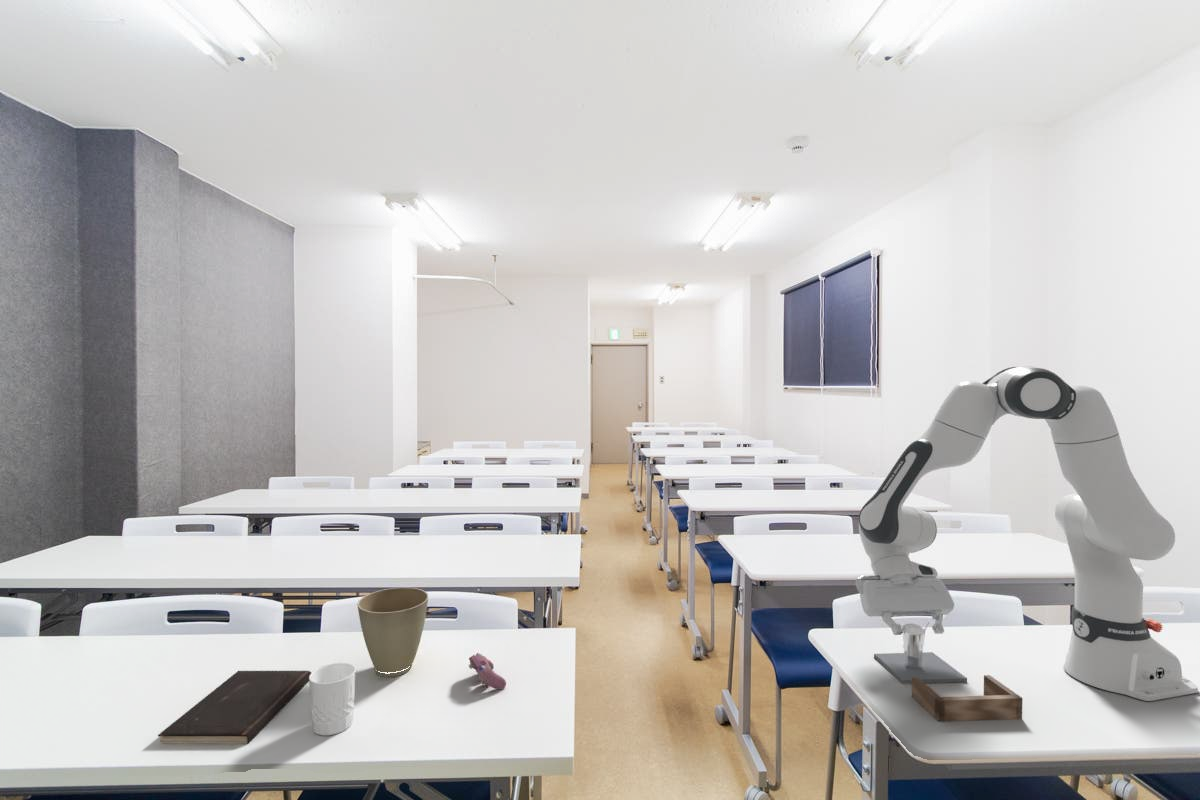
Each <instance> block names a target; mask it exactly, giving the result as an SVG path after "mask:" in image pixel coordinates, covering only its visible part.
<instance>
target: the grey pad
mask: <svg viewBox="0 0 1200 800" xmlns="http://www.w3.org/2000/svg"><path fill="white" fill-rule="evenodd" d="M873 658H874V659H875V660H877V662H879V664H881V665H882V666H883V667H884V668H885V669H887V670H888V671H889V673H891V674H892V675H893V676H894V677H895V678H897V679H898V680H899V681H900V682H901V683H902V684H903V685H905V684H909V685H910V684H911V685H912V677H918V678H919V679H920V680H922V681H923V682H924V683H925V684H940V683H941V684H944V683H967V682H968V678H967V676H965V675H963V674H962V673H961V672H960V671H958V670H956V669H955V668H954V667H952V665H950V664H949V663H947V661H945V660H944V659H942V658H941V657H939V655H937V654H935V653H934V652H928V651H927V652H925V651H923V653H922V663H921V668H919V669H913V668H910V667H908V666H906V665H905V656H904V652H895V653H894V652H892V653H886V652H885V653H873Z"/></svg>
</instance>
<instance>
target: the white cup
mask: <svg viewBox="0 0 1200 800" xmlns="http://www.w3.org/2000/svg"><path fill="white" fill-rule="evenodd" d="M356 671H357V669H356V666H355V665H353V664H351V663H348V662H336V663H331V664H326V665H324V666H321V667H319V668H317V669H315V670H314V671H312V672H311V674H310V676H309V682H308V683H309V696H310V697H309V698H310V708H311V709H310V710H311V717H312V718H311V719H312V729H313V732H314V734H316V735H319V736H333V735H337V734H340V733H342V732H344V731H346V730H347V729H349V727H350V726H351V725H352V723H353V721H354V709H355V707H354V706H355V695H356V692H355V691H356Z"/></svg>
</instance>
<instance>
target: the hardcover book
mask: <svg viewBox="0 0 1200 800" xmlns="http://www.w3.org/2000/svg"><path fill="white" fill-rule="evenodd" d="M311 673H312V672H311V671H310V670H238V671H236V672H235V673H234V674H232V675H231V676H230V677H229V678H228V679H226V680H225V681H223V682H222V683H221V684H220V685H219V686H217V687H216V688H214V690H213V691H211V692H210V693H209V694H207V695H206V696H204V697H203V698H202V699H201V700H200V701H199V702H197V703H196V704H195V705H193V706H192V707H191V708H190V709H188V710H187V711H185V712H184V713H183V714H182V715H181V716H180V717H179V718H177V720H175V721H174V722H172V723H171V724H170V725H168V727H166V728H165V729H164V730H162V731H161V732H160V733H159V734H157V737H161V739H160V742H161V744H247V745H249V744H250V743H251V742H252V741H253V740H254V739H255V738H256V736H257V735H258V734H260V732H261V731H262V730H263V729H264V728H265V727H266V726H267V725H268V724H270V722H271V721H273V719H274V718H275V717H276V716H277V715H278V714H279V713H280V712H281V710H283V709H284V708H285V707H286V706H287V705H288V703H290V701H291V700H292V699H294V698H295V697H296V696H297V695H298V693H299V692H300V691H301V690H302V689H304V687H305V686H306V685H307V684H308V683H309V676H310V674H311Z"/></svg>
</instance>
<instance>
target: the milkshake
mask: <svg viewBox="0 0 1200 800" xmlns="http://www.w3.org/2000/svg"><path fill="white" fill-rule="evenodd" d="M929 624H930V622H929V621H928V622H927V624H926V626H925V628H923V626H921V625H919V624H915V623H905V624H904V625H902V626H901V629H902V630H903V633H902V641H903V653H904V656H905V665H906V666H908V667H910V668H913V669H919V668H921V663H922V653H924V644H925V637H926V630H927V628H928V626H929Z"/></svg>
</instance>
